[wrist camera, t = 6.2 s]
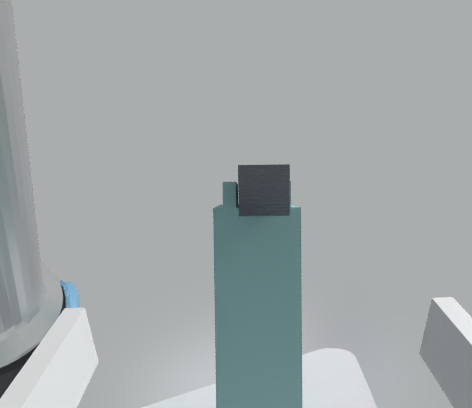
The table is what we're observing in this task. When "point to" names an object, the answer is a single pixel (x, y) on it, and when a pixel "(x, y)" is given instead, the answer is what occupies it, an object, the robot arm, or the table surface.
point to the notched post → (257, 307)
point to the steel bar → (264, 190)
